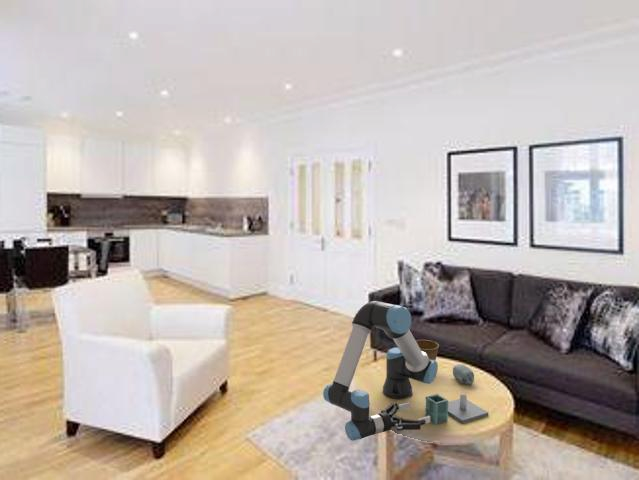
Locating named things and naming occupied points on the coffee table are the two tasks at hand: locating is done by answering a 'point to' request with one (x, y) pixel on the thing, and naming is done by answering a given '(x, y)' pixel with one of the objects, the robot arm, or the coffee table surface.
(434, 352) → the plant pot
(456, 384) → the coffee table surface
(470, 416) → the hub plate
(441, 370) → the coffee table surface
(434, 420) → the sleeve
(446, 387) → the coffee table surface
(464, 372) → the grey rounded piece
